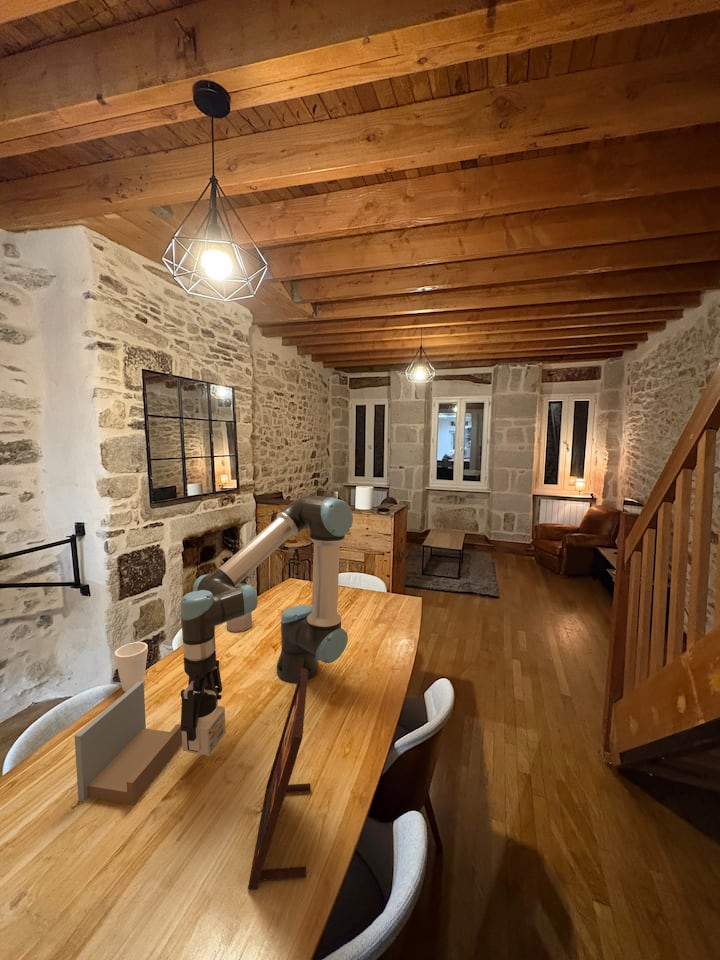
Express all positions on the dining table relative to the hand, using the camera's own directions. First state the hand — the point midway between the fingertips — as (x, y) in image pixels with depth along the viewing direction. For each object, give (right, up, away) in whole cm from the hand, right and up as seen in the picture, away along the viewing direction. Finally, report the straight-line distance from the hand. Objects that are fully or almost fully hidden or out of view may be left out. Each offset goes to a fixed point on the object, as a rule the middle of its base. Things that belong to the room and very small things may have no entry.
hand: (204, 735), depth 98 cm
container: (0, -2, 0) cm, 2 cm away
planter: (-14, 0, +72) cm, 73 cm away
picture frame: (+24, -9, -18) cm, 31 cm away
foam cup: (-36, -3, +30) cm, 47 cm away
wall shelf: (-16, -6, -3) cm, 17 cm away
